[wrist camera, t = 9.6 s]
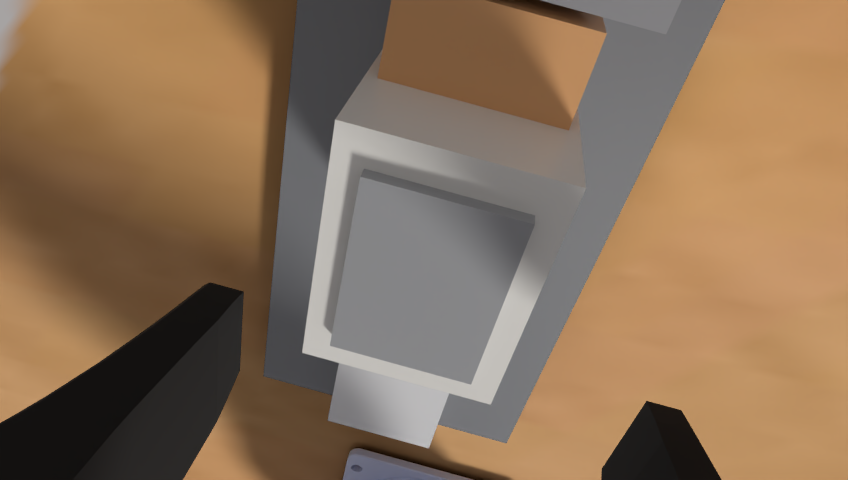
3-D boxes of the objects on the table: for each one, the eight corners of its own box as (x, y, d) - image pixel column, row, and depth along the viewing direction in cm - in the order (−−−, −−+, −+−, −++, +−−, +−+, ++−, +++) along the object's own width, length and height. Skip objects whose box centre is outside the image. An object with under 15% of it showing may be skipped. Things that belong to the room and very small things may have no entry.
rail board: (507, 422, 25) (500, 539, 21) (272, 357, 25) (220, 462, 21) (772, -130, 14) (869, -103, 10) (333, -249, 14) (243, -272, 10)
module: (502, 272, 18) (489, 415, 14) (355, 231, 18) (298, 362, 14) (575, 83, 15) (587, 196, 10) (392, 33, 15) (329, 127, 10)
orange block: (565, 85, 14) (568, 130, 12) (400, 40, 15) (377, 78, 12) (597, -2, 13) (607, 33, 11) (418, -50, 13) (395, -24, 11)
